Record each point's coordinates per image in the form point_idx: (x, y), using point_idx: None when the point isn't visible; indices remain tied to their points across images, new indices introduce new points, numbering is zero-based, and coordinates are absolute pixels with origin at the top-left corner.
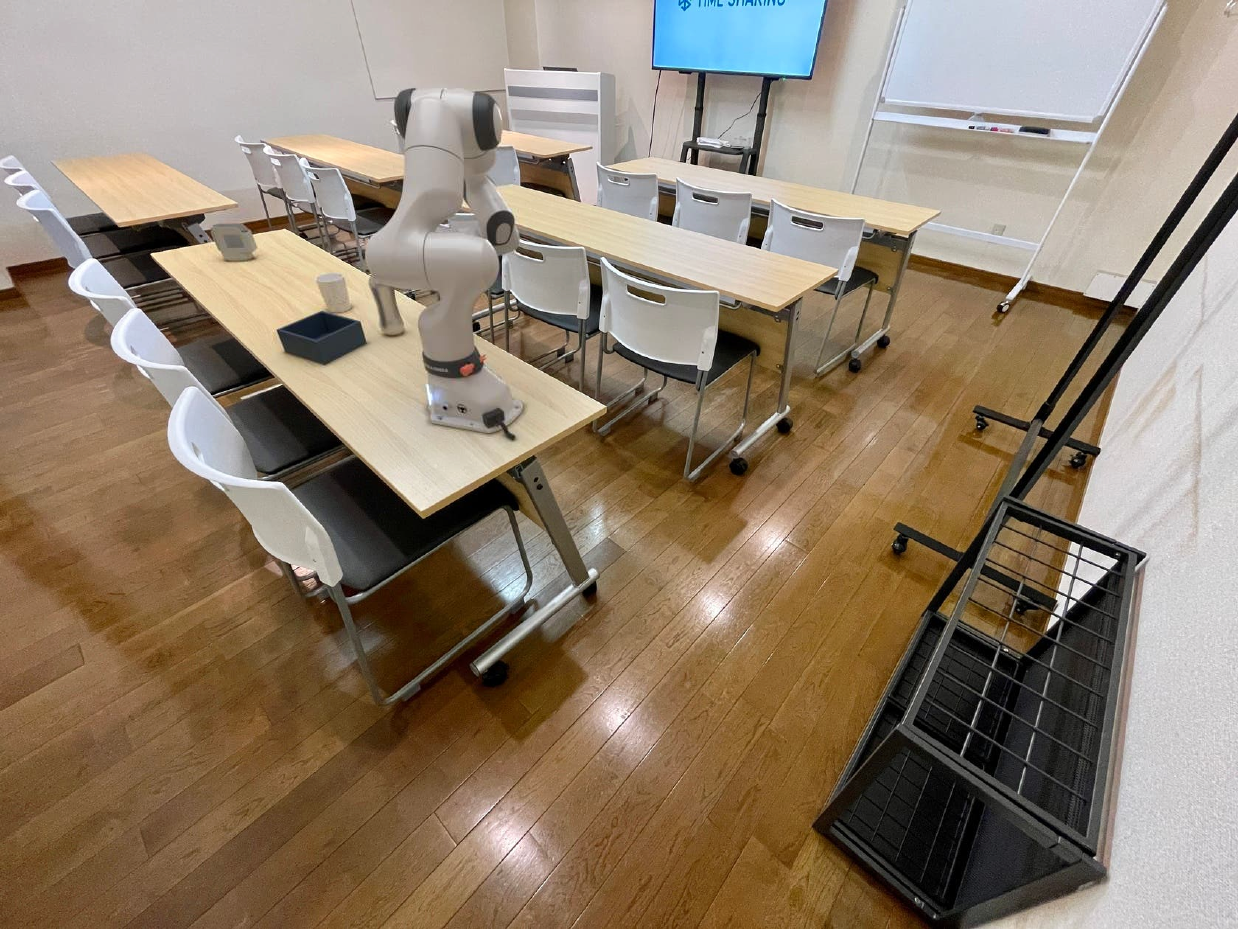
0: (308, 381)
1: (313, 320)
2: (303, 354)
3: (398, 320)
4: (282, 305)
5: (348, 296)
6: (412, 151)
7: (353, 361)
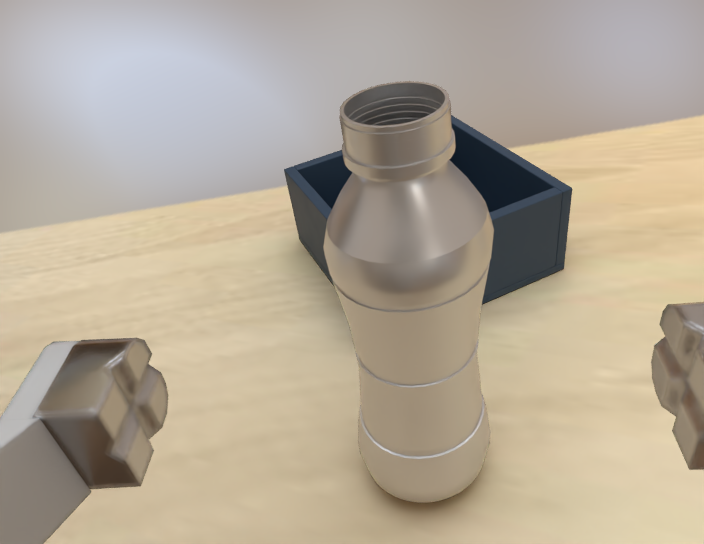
0: (235, 211)
1: (521, 183)
2: None
3: (364, 433)
4: None
5: None
6: None
7: (263, 295)
